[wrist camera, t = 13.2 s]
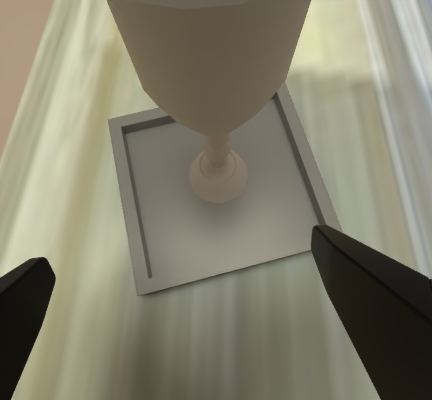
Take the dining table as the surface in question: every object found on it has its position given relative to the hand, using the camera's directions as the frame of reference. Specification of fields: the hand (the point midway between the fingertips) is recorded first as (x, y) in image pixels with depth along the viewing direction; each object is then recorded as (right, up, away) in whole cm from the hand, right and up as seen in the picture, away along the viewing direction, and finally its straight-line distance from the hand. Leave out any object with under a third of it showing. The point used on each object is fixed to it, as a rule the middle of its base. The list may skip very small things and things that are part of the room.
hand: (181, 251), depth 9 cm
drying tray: (+1, +3, +15) cm, 15 cm away
